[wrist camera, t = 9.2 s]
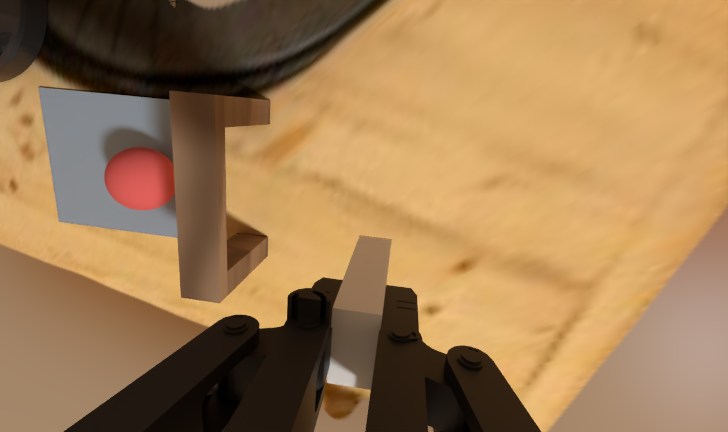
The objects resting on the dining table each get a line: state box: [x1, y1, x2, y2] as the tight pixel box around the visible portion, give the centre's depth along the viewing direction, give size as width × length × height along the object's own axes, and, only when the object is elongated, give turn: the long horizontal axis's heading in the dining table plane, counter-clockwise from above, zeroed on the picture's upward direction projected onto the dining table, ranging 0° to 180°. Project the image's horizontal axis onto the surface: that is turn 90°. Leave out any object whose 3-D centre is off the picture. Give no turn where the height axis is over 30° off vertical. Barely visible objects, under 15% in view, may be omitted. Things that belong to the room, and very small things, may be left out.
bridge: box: [169, 91, 270, 303], centre depth 29 cm, size 3×14×9 cm, turn 175°
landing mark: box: [39, 87, 178, 238], centre depth 35 cm, size 13×13×1 cm
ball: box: [104, 147, 175, 210], centre depth 32 cm, size 6×6×6 cm
